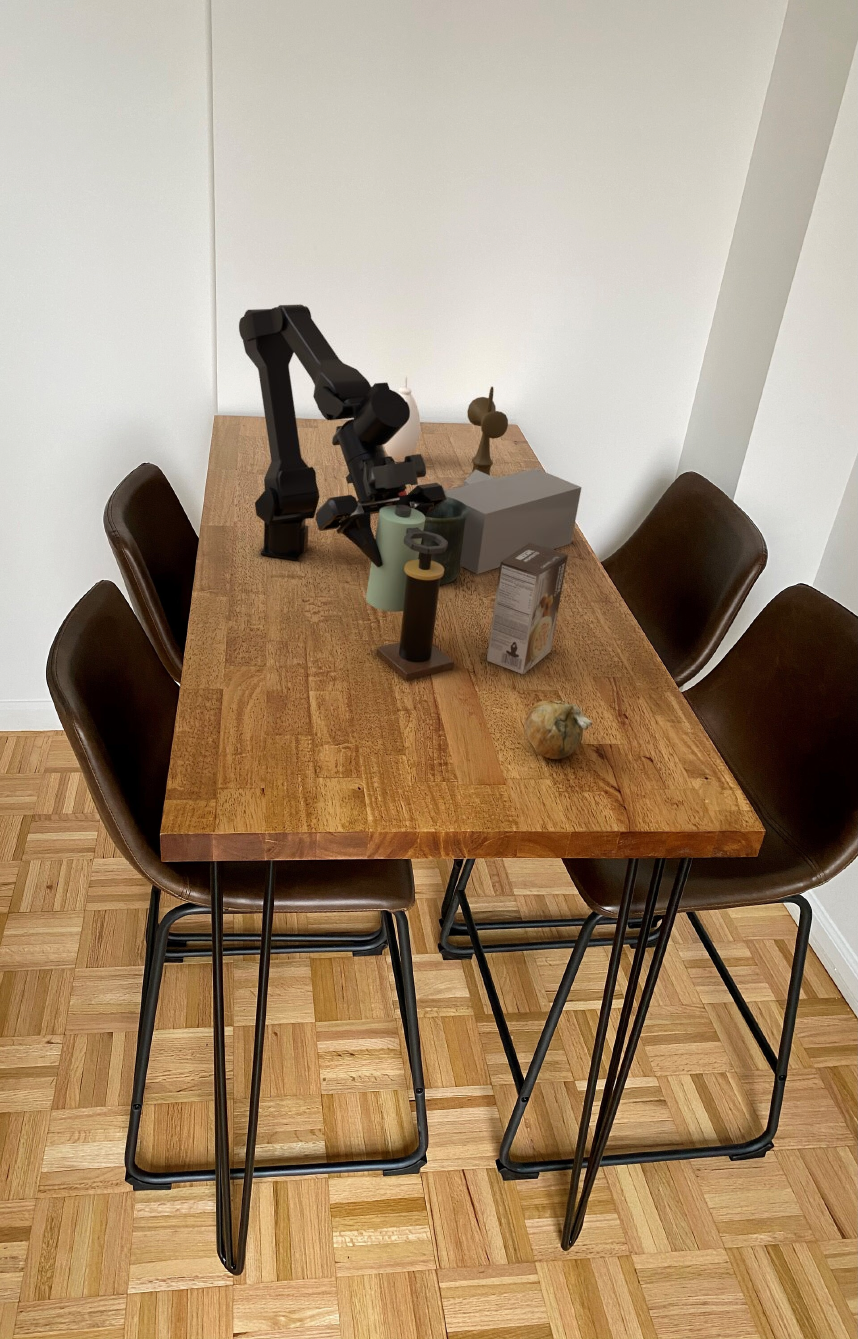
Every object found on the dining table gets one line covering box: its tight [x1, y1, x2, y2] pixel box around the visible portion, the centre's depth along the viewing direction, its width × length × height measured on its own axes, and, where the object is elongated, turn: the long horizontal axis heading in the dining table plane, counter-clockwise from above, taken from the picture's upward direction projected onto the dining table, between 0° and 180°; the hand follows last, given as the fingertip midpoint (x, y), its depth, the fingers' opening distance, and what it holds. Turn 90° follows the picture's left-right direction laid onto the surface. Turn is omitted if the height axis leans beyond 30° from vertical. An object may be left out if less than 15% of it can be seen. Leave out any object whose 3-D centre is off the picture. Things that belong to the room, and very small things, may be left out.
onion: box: [524, 700, 594, 760], centre depth 132 cm, size 8×8×8 cm
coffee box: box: [486, 543, 569, 675], centre depth 150 cm, size 9×6×16 cm
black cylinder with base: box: [375, 545, 455, 682], centre depth 145 cm, size 8×8×18 cm
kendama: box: [466, 386, 509, 478], centre depth 210 cm, size 6×10×20 cm, turn 15°
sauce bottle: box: [383, 375, 421, 463], centre depth 217 cm, size 8×8×18 cm
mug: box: [424, 497, 469, 586], centre depth 172 cm, size 11×15×12 cm
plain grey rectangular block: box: [444, 467, 582, 575], centre depth 189 cm, size 25×23×11 cm
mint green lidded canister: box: [365, 505, 448, 613], centre depth 145 cm, size 13×6×14 cm, turn 29°
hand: (400, 562), depth 147 cm, fingers closed on mint green lidded canister, 6 cm apart
